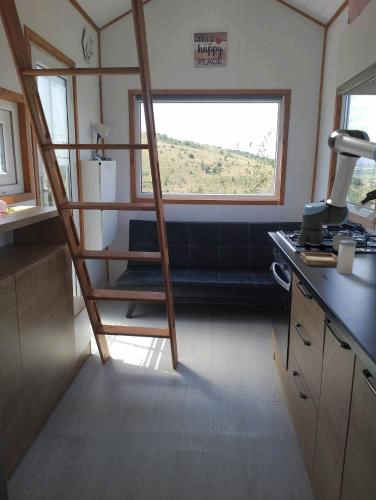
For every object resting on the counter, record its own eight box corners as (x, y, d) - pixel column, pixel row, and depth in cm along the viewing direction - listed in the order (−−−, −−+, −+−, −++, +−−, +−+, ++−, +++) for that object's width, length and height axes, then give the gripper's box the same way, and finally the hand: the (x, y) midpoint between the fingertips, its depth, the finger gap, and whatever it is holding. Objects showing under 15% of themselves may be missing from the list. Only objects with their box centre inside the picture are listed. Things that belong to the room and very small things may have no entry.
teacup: (354, 254, 204) (356, 240, 202) (332, 253, 206) (334, 238, 204) (349, 248, 218) (351, 234, 216) (328, 247, 220) (330, 233, 218)
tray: (299, 256, 197) (300, 251, 197) (332, 258, 196) (332, 253, 196) (307, 265, 182) (307, 260, 181) (342, 267, 181) (342, 261, 180)
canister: (332, 270, 175) (336, 240, 171) (345, 270, 176) (349, 239, 173) (342, 275, 168) (346, 243, 165) (355, 274, 170) (360, 243, 166)
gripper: (399, 177, 163) (355, 209, 172) (417, 201, 179) (376, 229, 189) (389, 166, 167) (346, 198, 177) (408, 190, 184) (368, 218, 193)
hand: (361, 214), depth 183 cm, fingers open, 13 cm apart
